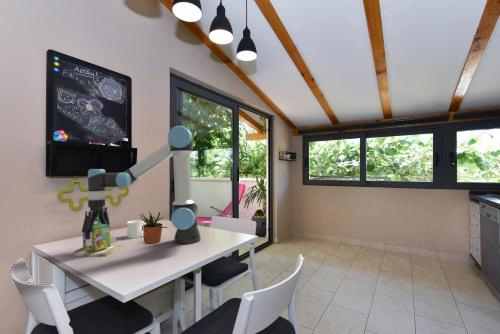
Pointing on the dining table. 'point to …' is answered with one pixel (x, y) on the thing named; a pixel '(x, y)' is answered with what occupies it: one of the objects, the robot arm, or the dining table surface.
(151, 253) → the dining table surface
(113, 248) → the clipboard
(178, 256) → the dining table surface
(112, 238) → the button base
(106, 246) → the chalk box
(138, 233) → the mug
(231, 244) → the dining table surface
